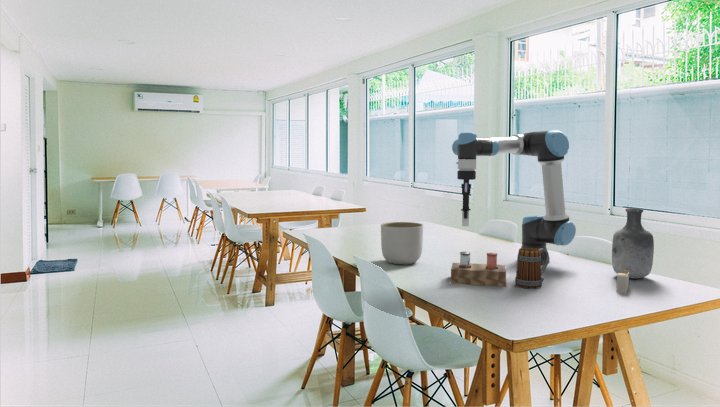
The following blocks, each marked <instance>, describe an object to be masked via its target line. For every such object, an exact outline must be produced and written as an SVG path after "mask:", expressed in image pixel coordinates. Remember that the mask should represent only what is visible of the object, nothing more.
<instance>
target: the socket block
mask: <svg viewBox="0 0 720 407" xmlns="http://www.w3.org/2000/svg"><path fill="white" fill-rule="evenodd" d="M450 284H453V285H466V286H467V285H471V286H486V287H487V286H491V287H506V286H507V270H506V266H505V264H497V269H487V263H473V262H470V268H460V262H452V264H451V268H450Z"/></svg>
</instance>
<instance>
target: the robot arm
mask: <svg viewBox="0 0 720 407" xmlns="http://www.w3.org/2000/svg"><path fill="white" fill-rule="evenodd" d="M569 142H570V141H569V138H568V136H566V134H565V133H564V132H562V131H560V130H543V131H542V130H541V131H539V130H538V131H530V132H525V133H519V134H517V133H516V134H513V135H511V136H501V137H478V134H477V132H460V133H459V134H458V137H457V139H455V140H454V141H453V142H452V145H451V150H452V152H453V154H454V155H455V156H457V161H456V163H455V164H456V165H457V172H456V174H457V180H460V181H461V180H463V181H462V182H463V183H461V187H460V188H461V195H462V208H461V209H460V212H462V213H461V214H462V215H461V216H462V217H461V226H462V227H469V226H470V223H469V222H470V211H471V208H470V195H471V188H472V183H470V181H473V180H476V178H477V174H476V173H477V171H476V169H477V157H492V156H496V155H497V154H499V155H500V154H512V155H515V156H518V155H521V156H530V157H537V163H539V164H540V165H541V171H542V172H541V173H542V182H543V186H542V187H543V196H544V207H545V214H543V215H526V216H524V217H523V218H522V223H521V247H520V248H529V249H530V248H534V249H540V248H543V249H546V250H547V251H548V248H547V244H549V245H556V246H563V247H564V246H568V245H569V244H571V243H572V241H573V240H574V238H575V236H576V231H577V230H576V225H575V224H574V222H572V221H570V215H569V214H567V213H566V205H565V194H564V183H563V182H564V181H563V180H564V179H563V170H562V162H563V161H565V156H566V155H567V154H568V152H569V150H570V143H569ZM540 255H541V265H543V263H544V252H543V251H542V252H541V254H540ZM549 263H550V257H549V261H548V264H549Z"/></svg>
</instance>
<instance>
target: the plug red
mask: <svg viewBox="0 0 720 407" xmlns="http://www.w3.org/2000/svg"><path fill="white" fill-rule="evenodd" d="M497 259H498V253H497V252H487V253H486V264H487V269H497V265H498V262H497V261H498V260H497Z"/></svg>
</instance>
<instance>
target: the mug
mask: <svg viewBox="0 0 720 407" xmlns="http://www.w3.org/2000/svg"><path fill="white" fill-rule="evenodd" d="M542 251H543V252H544V263H543V264H541V255H540V254H541V252H542ZM516 258H517V261H516V262H517V263H516V272H515V273H516V274H515V278H514V284H515V285H516V287H518V288H522V289H529V290H530V289H531V290H535V289H540V288H541V287H542V285H543V282H544V281H545V277H543V274H544V272H545V271H546V269H547V267H548V266H549V263H548V261H549V258H550V253H549V250H548V249H547V250H546V249H543V248H540V249H534V248H530V249H529V248H521V247H520V248H519V249H518V253H517V257H516ZM541 265H542V266H541Z"/></svg>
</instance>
